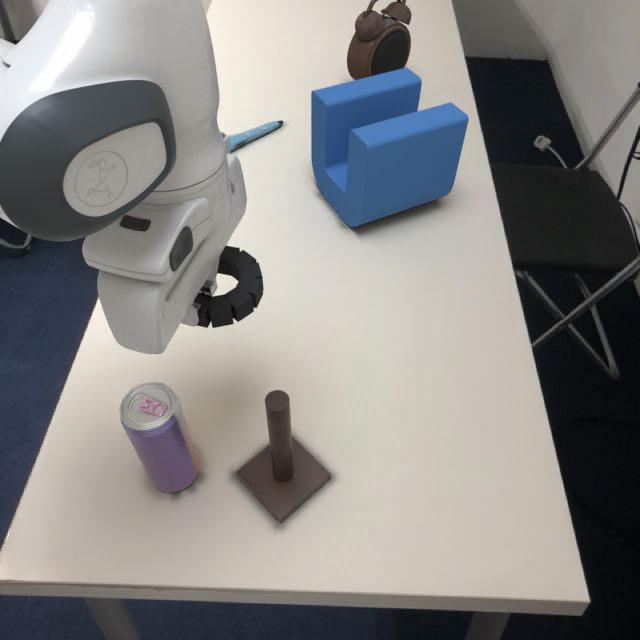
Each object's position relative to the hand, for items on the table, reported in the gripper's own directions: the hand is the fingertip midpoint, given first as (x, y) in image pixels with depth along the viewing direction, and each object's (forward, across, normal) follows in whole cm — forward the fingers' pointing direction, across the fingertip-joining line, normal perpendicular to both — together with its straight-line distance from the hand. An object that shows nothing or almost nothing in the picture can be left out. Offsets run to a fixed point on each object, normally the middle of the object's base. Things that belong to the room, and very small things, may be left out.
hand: (199, 306), depth 55 cm
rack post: (+23, +4, +9) cm, 25 cm away
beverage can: (+23, +7, -3) cm, 24 cm away
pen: (+22, -61, -20) cm, 68 cm away
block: (+22, -52, +9) cm, 57 cm away
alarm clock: (+22, -89, +1) cm, 92 cm away
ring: (+2, -4, 0) cm, 4 cm away
